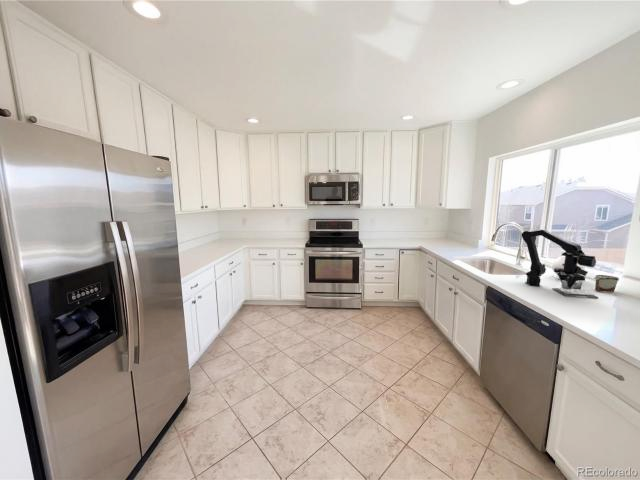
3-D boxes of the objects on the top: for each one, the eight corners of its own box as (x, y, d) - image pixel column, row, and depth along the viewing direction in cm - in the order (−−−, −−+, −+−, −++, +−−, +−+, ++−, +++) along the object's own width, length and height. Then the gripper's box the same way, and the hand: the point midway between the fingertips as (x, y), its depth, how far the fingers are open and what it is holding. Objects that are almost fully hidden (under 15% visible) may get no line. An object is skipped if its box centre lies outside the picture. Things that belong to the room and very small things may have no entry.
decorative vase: (543, 275, 195) (548, 245, 191) (564, 274, 196) (569, 244, 192) (566, 283, 178) (572, 249, 174) (589, 282, 179) (595, 249, 175)
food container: (606, 288, 166) (609, 274, 164) (616, 292, 160) (619, 277, 158) (586, 288, 167) (589, 274, 166) (595, 291, 161) (598, 277, 160)
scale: (564, 296, 154) (564, 294, 154) (552, 289, 166) (552, 287, 166) (598, 298, 150) (598, 297, 150) (583, 291, 161) (583, 290, 161)
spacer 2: (573, 289, 166) (575, 282, 165) (568, 286, 170) (569, 280, 170) (582, 290, 164) (584, 283, 163) (577, 287, 169) (578, 280, 168)
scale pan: (565, 293, 155) (565, 292, 155) (555, 288, 164) (555, 287, 164) (594, 296, 152) (594, 294, 151) (583, 290, 160) (583, 289, 160)
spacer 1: (564, 289, 157) (565, 281, 156) (559, 286, 162) (560, 279, 161) (574, 289, 156) (575, 282, 155) (568, 287, 160) (569, 279, 159)
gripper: (598, 268, 145) (593, 293, 147) (575, 260, 163) (571, 282, 165) (575, 267, 148) (571, 291, 150) (555, 259, 165) (551, 281, 168)
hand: (566, 286), depth 158 cm, fingers closed on spacer 1, 5 cm apart
